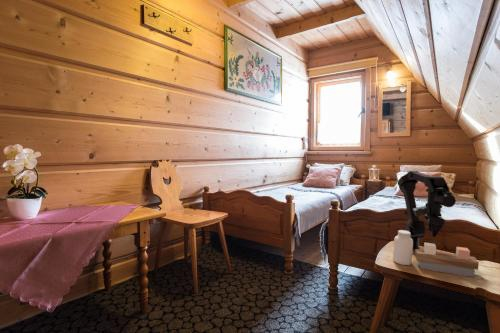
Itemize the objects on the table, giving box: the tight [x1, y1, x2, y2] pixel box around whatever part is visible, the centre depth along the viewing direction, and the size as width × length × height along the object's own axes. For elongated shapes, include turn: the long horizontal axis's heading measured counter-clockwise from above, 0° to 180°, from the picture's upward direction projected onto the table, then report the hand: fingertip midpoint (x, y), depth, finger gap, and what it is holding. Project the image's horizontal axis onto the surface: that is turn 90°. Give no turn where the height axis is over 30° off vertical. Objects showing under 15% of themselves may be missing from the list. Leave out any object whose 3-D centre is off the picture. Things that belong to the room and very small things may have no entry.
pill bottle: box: [392, 229, 414, 266], centre depth 135 cm, size 8×8×15 cm
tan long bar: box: [414, 249, 480, 270], centre depth 128 cm, size 6×23×4 cm, turn 67°
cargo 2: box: [455, 246, 471, 260], centre depth 125 cm, size 4×4×4 cm
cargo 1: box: [423, 242, 437, 255], centre depth 131 cm, size 4×4×4 cm
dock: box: [417, 261, 476, 278], centre depth 129 cm, size 8×20×3 cm, turn 67°
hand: (432, 233), depth 138 cm, fingers open, 9 cm apart
